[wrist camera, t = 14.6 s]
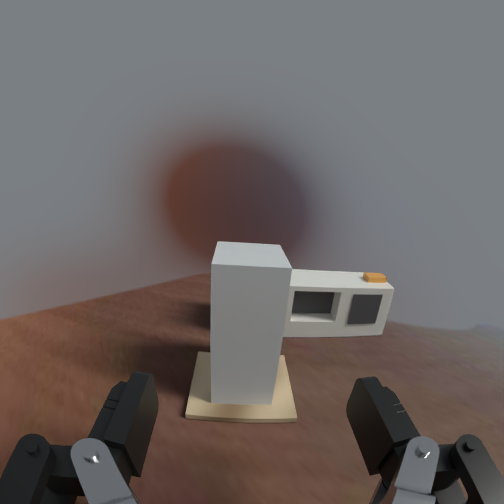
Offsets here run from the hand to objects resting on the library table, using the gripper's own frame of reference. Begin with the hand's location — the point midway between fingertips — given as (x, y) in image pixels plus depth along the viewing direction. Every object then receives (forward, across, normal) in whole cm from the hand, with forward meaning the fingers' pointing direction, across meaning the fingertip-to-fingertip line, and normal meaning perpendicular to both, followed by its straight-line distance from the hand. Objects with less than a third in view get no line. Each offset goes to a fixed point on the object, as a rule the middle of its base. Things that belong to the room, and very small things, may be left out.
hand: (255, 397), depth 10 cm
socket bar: (+20, -8, +8) cm, 23 cm away
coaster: (+10, 0, +8) cm, 13 cm away
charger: (+11, 0, +8) cm, 13 cm away
